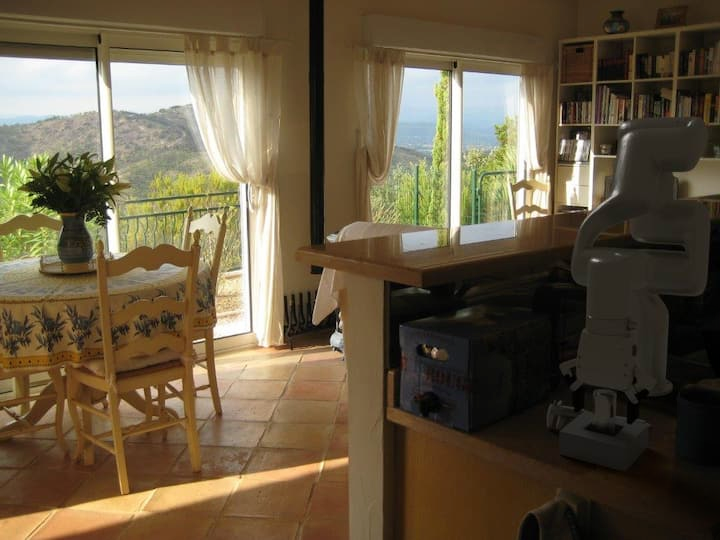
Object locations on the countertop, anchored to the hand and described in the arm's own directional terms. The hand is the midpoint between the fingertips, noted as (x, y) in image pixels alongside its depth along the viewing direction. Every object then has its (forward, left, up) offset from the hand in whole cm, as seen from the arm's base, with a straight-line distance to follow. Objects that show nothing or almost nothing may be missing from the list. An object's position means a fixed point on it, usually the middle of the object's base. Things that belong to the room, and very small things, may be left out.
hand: (604, 415), depth 131 cm
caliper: (-10, -5, -7) cm, 13 cm away
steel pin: (0, 0, -6) cm, 6 cm away
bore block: (0, 0, -7) cm, 7 cm away
